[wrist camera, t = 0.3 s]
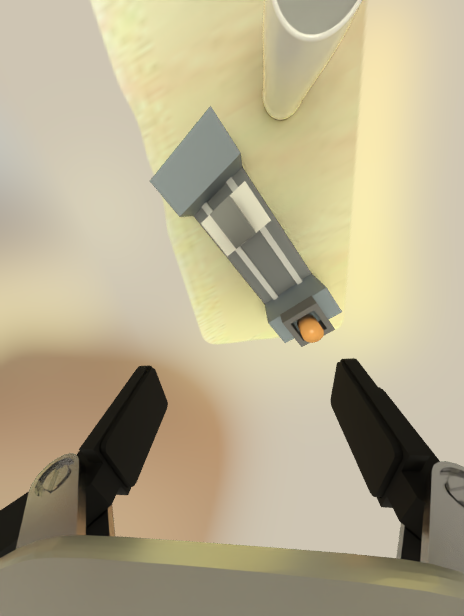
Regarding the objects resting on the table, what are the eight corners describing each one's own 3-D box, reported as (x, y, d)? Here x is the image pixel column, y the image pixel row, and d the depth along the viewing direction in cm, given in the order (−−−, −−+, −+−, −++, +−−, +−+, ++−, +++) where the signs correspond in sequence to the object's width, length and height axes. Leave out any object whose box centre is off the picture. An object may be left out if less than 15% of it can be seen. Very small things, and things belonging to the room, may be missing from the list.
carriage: (204, 222, 30) (191, 225, 22) (245, 183, 27) (244, 173, 20) (229, 252, 31) (223, 264, 24) (268, 219, 29) (276, 221, 22)
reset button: (293, 321, 28) (298, 332, 25) (310, 311, 27) (317, 321, 24) (303, 333, 29) (308, 345, 26) (319, 324, 28) (327, 336, 25)
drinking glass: (314, 54, 23) (406, -165, 10) (303, 128, 26) (363, 39, 13) (258, 57, 23) (273, -151, 10) (255, 129, 26) (262, 44, 13)
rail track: (175, 189, 30) (139, 177, 20) (221, 137, 27) (205, 91, 17) (278, 317, 40) (288, 353, 30) (321, 290, 36) (350, 321, 26)
